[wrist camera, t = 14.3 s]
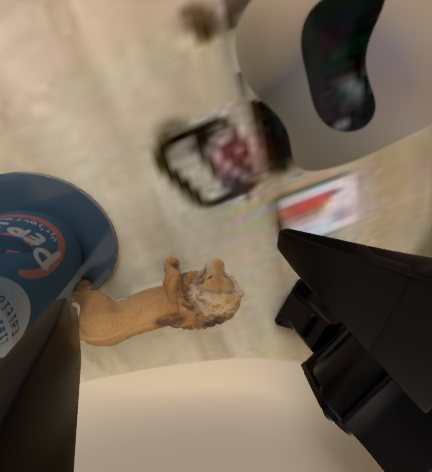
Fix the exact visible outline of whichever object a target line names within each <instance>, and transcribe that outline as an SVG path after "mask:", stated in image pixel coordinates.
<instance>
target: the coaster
mask: <svg viewBox="0 0 432 472" xmlns="http://www.w3.org/2000/svg"><path fill="white" fill-rule="evenodd" d="M17 210H27V211H35V212H39V213H43V214H46V215H48V216H51V217H53V218H55V219H57V220H58V221H60V222H61V223H63V224H64V225H65V226H66V227H67V228H68V229H69V230H70V231H71V232H72V233H73V234H74V236H75V237H76V239H77V241H78V243H79V246H80V250H81V263H80V267H79V269H78V271H77V273H76V275H75V276H74V277H73V279H72V280H71V281H70V282H69V284H68V285H67V286H66V287H65V289H64V290H63V291H62V293H61V294H60V295H59V296H58V298H57V299H56V300H58V299H61V298H64V297H66V298H68V299H69V300H70V302H71V303H73V302H76V301H72V299H71V295H72V291H73V288H74V286H75V285H76V283H77V282H79V281H80V280H83V279H85V280H88V281H89V282H90V283H92V286H91V289H90V290H94V291H96V290H97V289H98V288H99V287H100V286H101V285H102V284H103V283H104V282H105V280H106V279H107V277H108V276H109V274H110V272H111V270H112V268H113V266H114V263H115V260H116V254H117V241H116V235H115V232H114V228H113V226H112V224H111V222H110V219H109V218H108V216H107V215H106V213H105V212H104V210H103V209H102V208H101V207H100V205H99V204H98V203H97V202H96V201H95V200H94V199H93V198H92V197H91V196H89V195H88V194H87V193H85V192H84V191H83V190H81V189H80V188H78V187H76V186H74V185H73V184H71V183H69V182H66V181H64V180H62V179H59V178H56V177H53V176H49V175H45V174H40V173H31V172H14V173H6V174H0V214H2V213H5V212H9V211H17Z"/></svg>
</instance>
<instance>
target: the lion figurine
mask: <svg viewBox="0 0 432 472" xmlns="http://www.w3.org/2000/svg"><path fill="white" fill-rule="evenodd" d="M177 266H178V260H177V259H176V258H174V257H169V258H168V259H167V261H166V263H165V268H164V271H165V273H166V275H165V279H164V280H163V286H159V287H154V288H150V289H146V290H143V291H141V292H138V293H135V294H133V295H131V296H129V297H128V298H127V299H126V298H120V299H117V300H116V301H113V300H112V299H111V298H110V297H108V296H107V295H105V294H103V293H101V292H99V291H94V290H90V289H91V286H92V283H90V282H89V281H88V280H85V279H83V280H80V281H79V282H77V283H76V285H75V286H74V288H73V291H72V295H71V299H72V301H77V302H78V303H79V304H80V314H79V334H80V339H81V340H84V341H85V342H86V343H88V344H90V345H95V346H111V345H115V344H118V343H120V342H122V341H124V340H126V339H128V338H130V337H132V336H135V335H138V334H141V333H144V332H147V331H151V330H155V329H159V328H162V327H165V326H171V327H174V328H183V329H189V330H193V329H195V328H197V329H198V330H199V329H201V328H203V329H206V328H207V327H211V326H215V325H216V324H222V323H224V322H225V321H227V320H229V319H231V318H232V317H233V316H234V314H235V313H236V311H237V310H238V308H239V306H240V301H241V300H240V298H241V297H242V296H243V295H244V293H243V292H242V291H241V290H240V287H239V286H238V283H237V282H236V280H235V278H234V276H231V275H229V274H227V273H225V271H224V263H223V262H222V261H221V260H220V259H212V260H208V261H207V262H206V264H205V269H202V270H200V271H199V272H198V271H190V272H187V273H183V274H181V273H180V272H179V271H178V270H177V269H176V267H177ZM74 308H75V307H74ZM75 310H76V312H77V309H76V308H75Z"/></svg>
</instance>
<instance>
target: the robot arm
mask: <svg viewBox="0 0 432 472" xmlns="http://www.w3.org/2000/svg"><path fill="white" fill-rule="evenodd" d="M277 247H278V249H279V251H280V252H281V254H282V255H283V256H284V258H285V259H286V260H287V262H288V263H289V264H290V266H291V267H292V268H293V270H294V271H295V272H296V273H297V274H298V276H299V277H300V278H301V279H300V280H298V281H297V283H296V285H295V286H294V288H293V290H292V292H291V293H290V295H289V297H288V298H287V300H286V302H285V303H284V305H283V307H282V309H281V310H280V312H279V314H278V315H277V317H276V319H275V322H276V324H277V325H279V326H283V327H287V328H290V329H294V330H295V331H296V332H297V334H298V335H299V336H300V337H301V338H302V340H303V341H304V342H305V343H306V345H307V346H308V347H309V349H310V350H311V351H312V352H313V354H312V355H311V356H310V357H309V358H308V359H307V360H306V362H305V361H304V362H303V363H302V364H301V366H302V368H303V370H304V374H305V376H306V378H307V380H308V382H309V384H310V386H311V389H312V391H313V393H314V395H315V397H316V399H317V401H318V403H319V405H320V407H321V408H322V410H323V413H324V415H325V417H326V418H327V419H328V420H331V421H334V422H335V424H336V425H337V426H338V427H339V428H341V429H342V430H343V431H344V432H345V433H347V434H348V435H354V436H355V437H356V438H357V439H358V440H359V441H360V443H361V444H362V445H363V446H364V447H365V448H366V449H367V451H368V452H369V453H370V454H371V455H372V457H373V458H374V459H375V460H376V462H377V463H378V464H379V465H380V466H381V468H382V469H383V470H384V472H432V258H430V257H425V256H419V255H413V254H407V253H401V252H396V251H391V250H386V249H381V248H376V247H371V246H366V245H362V244H357V243H353V242H348V241H343V240H339V239H334V238H330V237H325V236H320V235H316V234H311V233H306V232H302V231H297V230H293V229H283V230H280V231H279V234H278V242H277ZM301 283H302V284H301ZM80 369H81V349H80V334H79V319H78V314H77V312H76V310H75V308H74V307H73V305H72V303H71V302H70V300H69V299H68V298H66V297H64V298H61V299H58V300H55V301H53V302H52V303H51V304H50V305H49V306H48V307H47V308H46V310H45V311H44V312H43V313H42V314H41V315H40V316H39V318H38V319H37V320H36V321H35V322H34V323H33V325H32V326H31V327H30V328H29V329H28V330H27V331H26V333H25V334H24V335H23V336H22V337H21V338H20V339H19V341H18V342H17V343H16V344H15V345H14V346H13V347H12V349H11V350H10V351H9V352H8V353H7V354H6V355H5V357H4V358H3V359H2V360H1V361H0V472H74V456H75V443H76V428H77V413H78V398H79V384H80Z"/></svg>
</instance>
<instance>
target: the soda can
mask: <svg viewBox="0 0 432 472" xmlns="http://www.w3.org/2000/svg"><path fill="white" fill-rule="evenodd" d="M80 263H81V250H80V246H79V243H78V241H77V239H76V237H75V236H74V234H73V233H72V232H71V231H70V230H69V229H68V228H67V227H66V226H65V225H64V224H63V223H61V222H60V221H58V220H57V219H55V218H53V217H51V216H48V215H46V214H43V213H39V212H35V211H27V210H17V211H9V212H5V213H2V214H0V361H1V360H2V359H3V358H4V357H5V355H6V354H7V353H8V352H9V351H10V350H11V349H12V347H13V346H14V345H15V344H16V343H17V342H18V341H19V339H20V338H21V337H22V336H23V335H24V334H25V333H26V331H27V330H28V329H29V328H30V327H31V326H32V325H33V323H34V322H35V321H36V320H37V319H38V318H39V316H40V315H41V314H42V313H43V312H44V311H45V310H46V308H47V307H48V306H49V305H50V304H51V303H52V302H53V301H55V300H56V299H57V298H58V296H59V295H60V294H61V293H62V291H63V290H64V289H65V287H66V286H67V285H68V284H69V282H70V281H71V280H72V279H73V277H74V276H75V275H76V273H77V271H78V269H79V267H80Z"/></svg>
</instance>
